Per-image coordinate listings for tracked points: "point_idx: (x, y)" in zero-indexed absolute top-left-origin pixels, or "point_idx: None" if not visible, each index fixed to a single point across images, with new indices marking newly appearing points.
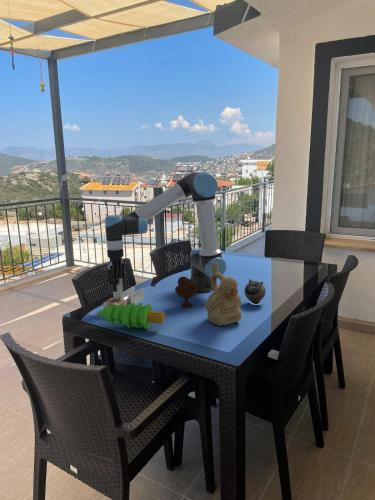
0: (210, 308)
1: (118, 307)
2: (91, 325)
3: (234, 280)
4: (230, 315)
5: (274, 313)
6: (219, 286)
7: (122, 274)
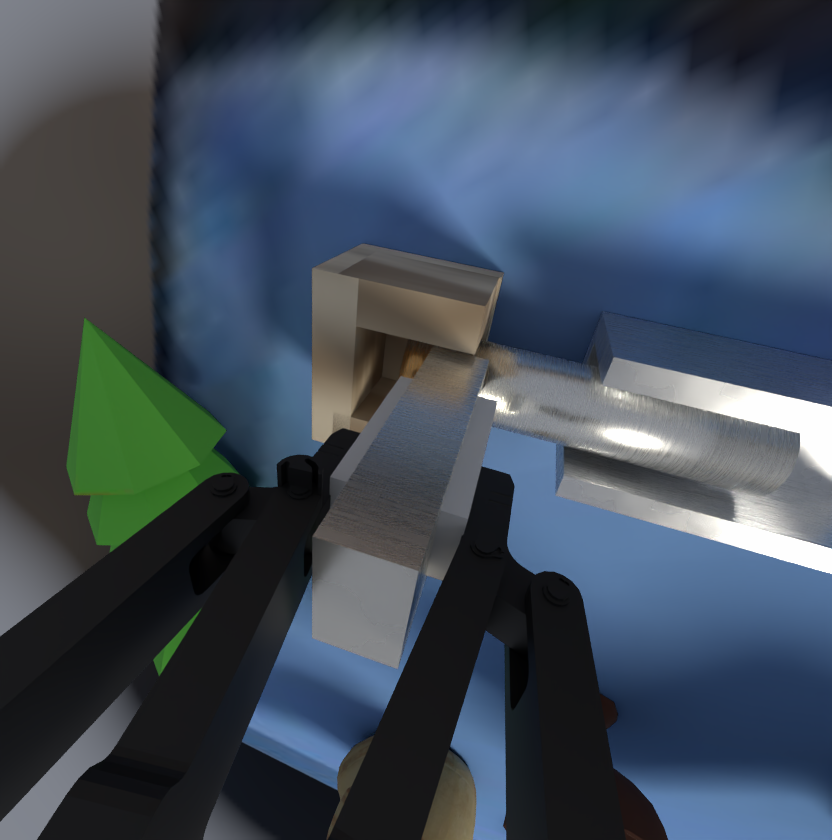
0: (337, 807)
1: (94, 525)
2: (150, 242)
3: None
4: None
5: None
6: None
7: (513, 720)
